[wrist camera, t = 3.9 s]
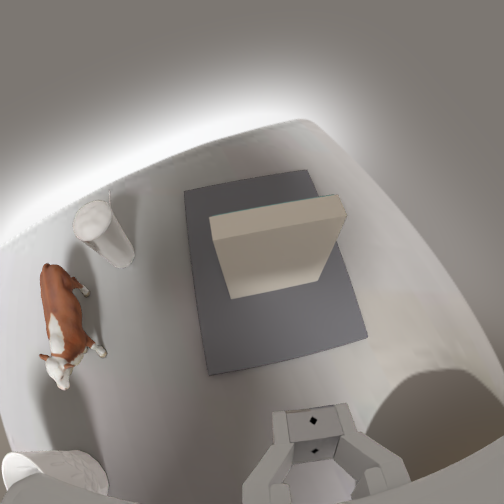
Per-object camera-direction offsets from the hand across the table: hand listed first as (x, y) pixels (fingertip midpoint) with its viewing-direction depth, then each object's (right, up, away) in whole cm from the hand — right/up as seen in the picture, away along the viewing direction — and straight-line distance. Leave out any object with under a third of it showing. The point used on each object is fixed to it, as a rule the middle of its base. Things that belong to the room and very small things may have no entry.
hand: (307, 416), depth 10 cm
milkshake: (-17, +6, +22) cm, 29 cm away
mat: (-1, +6, +21) cm, 22 cm away
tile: (0, +4, +19) cm, 20 cm away
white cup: (-21, -18, +10) cm, 29 cm away
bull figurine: (-21, -3, +18) cm, 27 cm away
